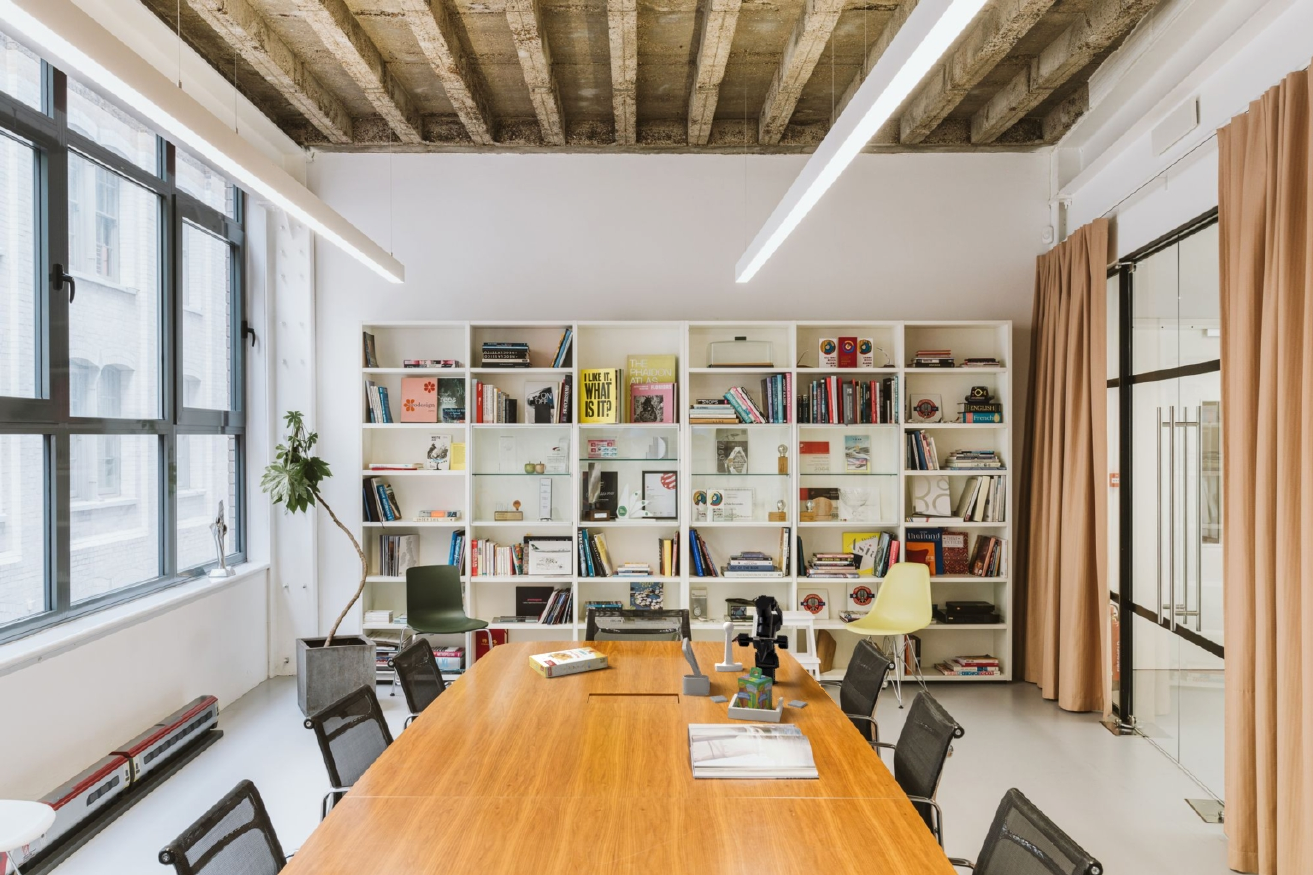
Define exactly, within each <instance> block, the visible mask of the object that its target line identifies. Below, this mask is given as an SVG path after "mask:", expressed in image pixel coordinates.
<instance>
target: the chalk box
mask: <svg viewBox="0 0 1313 875" xmlns="http://www.w3.org/2000/svg"><path fill="white" fill-rule="evenodd" d="M755 672H756V673H755ZM737 694H738V699H737V708H750V709H763V710H773V684H772V678H771V677H767V676H764V675H762V669H760V668H755V667H754V666H751V667H750V671H749V673H748V674H745V675H743V676H740V677H737Z"/></svg>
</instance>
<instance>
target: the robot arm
mask: <svg viewBox="0 0 1313 875" xmlns="http://www.w3.org/2000/svg"><path fill="white" fill-rule="evenodd" d="M778 604H779V603H778V601H777V599H776V598H775V596H774V595H769V596H768V595H766V594H761V595H758V597H757V598H756V600H755V602H754V607H755V610H756V615H757V621H756V630H755V631H756V632H755V635H753V636H752V637H751V636H750V634H749V633H748V632H739V633H738V634H737V643H738V646H739V647H741V648H743V647H744V648H748V647H749V646H750V644H751V643H752V647H753V649H754V650H756V651H755V652H754V666H755V668H760V669H762V675H764V676H767V677H771V678H772V685H774V684H778V683H779V681H778V680H776V670H777V669H779V668H780V658H779V655H778V653H777V652H776V650H777V649H776V647H775V646H776V645H777V648H779V649H780V650H788V649H789V637H788V635H786V634H776V633H777V632H779V631H781V629H782V626H784V625H783V624H784V617H783V616H784V614H783V610H782V609H781V607H779V605H778ZM774 611H775V612H776V613H772V612H774Z"/></svg>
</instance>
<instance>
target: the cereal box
mask: <svg viewBox="0 0 1313 875" xmlns="http://www.w3.org/2000/svg"><path fill="white" fill-rule="evenodd" d="M528 661H529V667H530V668H532V669H533V670H534V671H535V672H536V673H538V674H539V675H541V676H542V677H543V678H545V679H549V678H553V677H558V676H565V675H570V674H575V673H581V672H586V671H593V670H599V669H605V668H608V667H609V664H608V655H607V654H605V653H603V652H600V651H598V650H597V649H595V648H593V647H591V646H586V647H579V648H573V649H566V650H560V651H558V650H557V651H553V652H546V653H540V654H533V655H529V659H528Z"/></svg>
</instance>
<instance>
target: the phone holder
mask: <svg viewBox="0 0 1313 875" xmlns="http://www.w3.org/2000/svg"><path fill="white" fill-rule="evenodd" d="M681 650H682V653H683V656H684V659H685V660H686V662H687V663H688V665H689V666H690V667H691V670H692V672H693V674H685V675H683V676H682V695H684V696H709V695H710V689H711V688H710V687H711V685H710V684H711V680H710V677H709V675H707V674H703V673H702V672H701V669H700V666H699V663H698V661H697V658H696V655H695V652H694V651H693V647H692V644H691V642H690V638H689V637H688V636H687V637H684V638H683V640H682V646H681Z"/></svg>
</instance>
